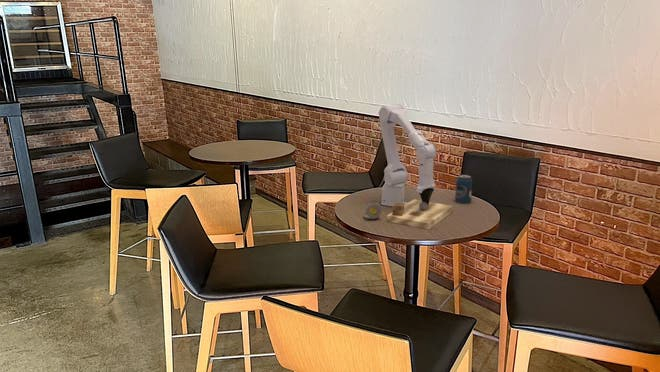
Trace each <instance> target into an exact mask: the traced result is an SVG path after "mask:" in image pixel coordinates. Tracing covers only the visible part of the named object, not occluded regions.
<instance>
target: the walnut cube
mask: <svg viewBox="0 0 660 372" xmlns="http://www.w3.org/2000/svg"><path fill="white" fill-rule="evenodd" d="M391 213H392V215H397V216H402V215H403V214H404V204H403V203H394V204H393V207H392V212H391Z"/></svg>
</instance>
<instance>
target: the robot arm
mask: <svg viewBox="0 0 660 372" xmlns="http://www.w3.org/2000/svg"><path fill="white" fill-rule="evenodd" d="M406 113H407V111H406V109H405V108H404V106H403V105H402V104H399V103H397V104H393V105H382V106H381V107H380V109H379V111H378V113H377V114H378V117H379V123H380V124H379V125H380V131H381V136H382V142H383V147H384V150H385V151H384V152H385V156H386V157H385V158H386V161H387V166H386V167H385V168H384V170H383V173H384V176H383V180H384V182H385V183H384V184H383V186H382V188H381V202H380V206H381V205H382V206H388V207H392V208H393V204H394V203H403V204H404V205H405V204H407V203H408V202H407V201H404V200H405V185H406V183H407V182H408V180H409V173H408V170H407V169H406V166H405V165H404V164H403V163H401V161H400V160H401V159H400V155H399V150H398V146H397V145H398V144H397V140H396V134H395V129H394V127H395V126H396V124H399V126H400V127H401V128H402V130H404V131H405V133H406V134H407V136H408V138H407V139H408V141H409V143H410V144H411V145H412V147H413V148H414V150H416V152H415V154H416V155H415V156H416V157H417V162H418V184H417V187H416V193H419V196H420V199H421V201H422V202H426V203H427V205H429V202H431V197H432V194H433V193H434V191H435V189H434V188H435V187H436V185H437V184H435V180H434V158H436V156H437V154H438V153H437V152H438V151H437V148H436V145H435V144H433V143H431V142H429V141H428V140H427V139H426V137H425V136H424V135H423V133H422V131H420V130H416V129H415V127H414V125H413V124H412V121H410V119H409V118H408V116H407V114H406Z"/></svg>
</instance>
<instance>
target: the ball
mask: <svg viewBox="0 0 660 372" xmlns="http://www.w3.org/2000/svg"><path fill="white" fill-rule="evenodd" d="M419 207H420V209H421V210H425V209H427V207H428V205H427V203H426V202H421V203H420V204H419Z"/></svg>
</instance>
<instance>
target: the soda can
mask: <svg viewBox="0 0 660 372" xmlns="http://www.w3.org/2000/svg"><path fill="white" fill-rule="evenodd" d="M472 189H473V178H472V176H471V175H469V174H459V175H457V177H456V181H455V198H454V199H455V201H456V203H459V204H466V205H467V204H469V203H470V202H471V200H472Z"/></svg>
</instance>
